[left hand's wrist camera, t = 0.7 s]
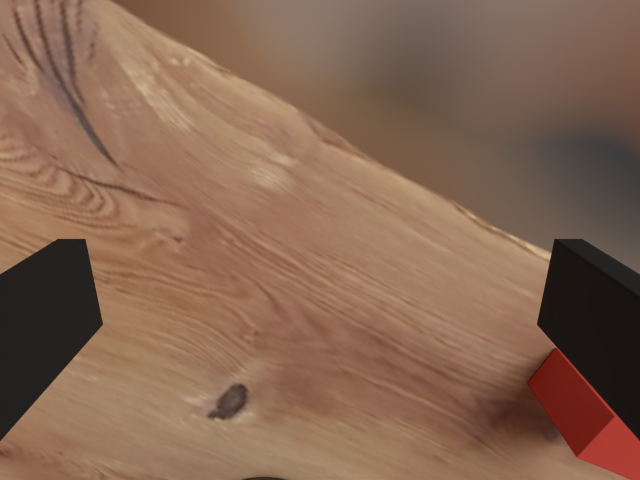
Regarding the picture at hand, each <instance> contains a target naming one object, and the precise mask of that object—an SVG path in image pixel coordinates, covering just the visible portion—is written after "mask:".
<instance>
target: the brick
mask: <svg viewBox="0 0 640 480" xmlns="http://www.w3.org/2000/svg"><path fill="white" fill-rule="evenodd" d="M527 384H528V385H529V387H530V388H531V390H532V391H533V393H534V394H535V396H536V397H537V399H538V400H539V402H540V403H541V405H542V406H543V408H544V409H545V411H546V412H547V414H548V415H549V417H550V418H551V420H552V421H553V423H554V424H555V426H556V427H557V429H558V430H559V432H560V433H561V435H562V436H563V438H564V439H565V441H566V442H567V444H568V445H569V447H570V448H571V450H572V451H573V453H574V454H575V456H576V457H577V458H579V459H582V460H584V461H587V462H589V463H592V464H594V465H597V466H599V467H601V468H604V469H606V470H609V471H611V472H614V473H616V474H619V475H621V476H624V477H626V478H628V479H631V480H640V441H639V440H638V438H637V437H636V436H635V435H634V434H633V433H632V432H631V430H630V429H629V428H628V427H627V426H626V425H625V424H624V423H623V421H622V420H621V419H620V418H619V417H618V416H617V415H616V413H615V412H614V411H613V410H612V409H611V408H610V407H609V406H608V404H607V403H606V402H605V401H604V400H603V399H602V398H601V396H600V395H599V394H598V393H597V392H596V391H595V390H594V388H593V387H592V386H591V385H590V384H589V383H588V382H587V381H586V379H585V378H584V377H583V376H582V375H581V374H580V373H579V371H578V370H577V369H576V368H575V367H574V366H573V365H572V364H571V362H570V361H569V360H568V359H567V358H566V357H565V356H564V354H563V353H562V352H561V351H560V350H559V349H557V348H555V350H554V351H553V352H552V353H551V355H550V356H549V357H548V358H547V359H546V361H545V362H544V363H543V364H542V366H541V367H540V368H539V369H538V371H537V372H536V373H535V374H534V375H533V377H532V378H531V379H530V380H529V382H528V383H527Z"/></svg>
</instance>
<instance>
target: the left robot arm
mask: <svg viewBox="0 0 640 480" xmlns="http://www.w3.org/2000/svg"><path fill="white" fill-rule="evenodd" d="M102 325H103V322H102V317H101V313H100V308H99V303H98V298H97V293H96V288H95V283H94V279H93V274H92V269H91V264H90V259H89V254H88V250H87V245H86V240H85V239H57V240H56V241H54V242H52V243H51V244H49V245H47V246H46V247H44V248H43V249H41V250H39V251H38V252H36V253H34V254H33V255H31V256H30V257H28V258H26V259H25V260H23V261H21V262H20V263H18V264H16V265H15V266H13V267H12V268H10V269H8V270H7V271H5V272H3V273H2V274H0V441H1V440H2V438H3V437H4V436H5V435H6V434H7V433H8V432H9V430H10V429H11V428H12V427H13V426H14V425H15V424H16V423H17V421H18V420H19V419H20V418H21V417H22V416H23V415H24V413H25V412H26V411H27V410H28V409H29V408H30V407H31V405H32V404H33V403H34V402H35V401H36V400H37V399H38V398H39V396H40V395H41V394H42V393H43V392H44V391H45V390H46V388H47V387H48V386H49V385H50V384H51V383H52V382H53V381H54V379H55V378H56V377H57V376H58V375H59V374H60V373H61V371H62V370H63V369H64V368H65V367H66V366H67V365H68V364H69V362H70V361H71V360H72V359H73V358H74V357H75V356H76V354H77V353H78V352H79V351H80V350H81V349H82V348H83V347H84V345H85V344H86V343H87V342H88V341H89V340H90V339H91V337H92V336H93V335H94V334H95V333H96V332H97V331H98V330H99V328H100V327H101V326H102ZM537 325H538V326H539V327H540V328H541V330H542V331H543V332H544V333H545V334H546V335H547V336H548V337H549V339H550V340H551V341H552V342H553V343H554V344H555V345H556V347H557V348H558V349H559V350H560V351H561V352H562V353H563V354H564V356H565V357H566V358H567V359H568V360H569V361H570V362H571V364H572V365H573V366H574V367H575V368H576V369H577V370H578V371H579V373H580V374H581V375H582V376H583V377H584V378H585V379H586V381H587V382H588V383H589V384H590V385H591V386H592V387H593V388H594V390H595V391H596V392H597V393H598V394H599V395H600V396H601V398H602V399H603V400H604V401H605V402H606V403H607V404H608V406H609V407H610V408H611V409H612V410H613V411H614V412H615V413H616V415H617V416H618V417H619V418H620V419H621V420H622V421H623V423H624V424H625V425H626V426H627V427H628V428H629V429H630V430H631V432H632V433H633V434H634V435H635V436H636V437H637V438H638V440H639V441H640V274H638V273H637V272H635V271H633V270H632V269H630V268H628V267H627V266H625V265H623V264H622V263H620V262H619V261H617V260H615V259H614V258H612V257H610V256H609V255H607V254H605V253H604V252H602V251H601V250H599V249H597V248H596V247H594V246H592V245H591V244H589V243H588V242H586V241H584V240H583V239H555V240H554V245H553V250H552V254H551V259H550V264H549V269H548V274H547V279H546V283H545V288H544V293H543V298H542V303H541V308H540V313H539V317H538V322H537ZM249 480H282V479H275V478H255V479H249Z"/></svg>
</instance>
